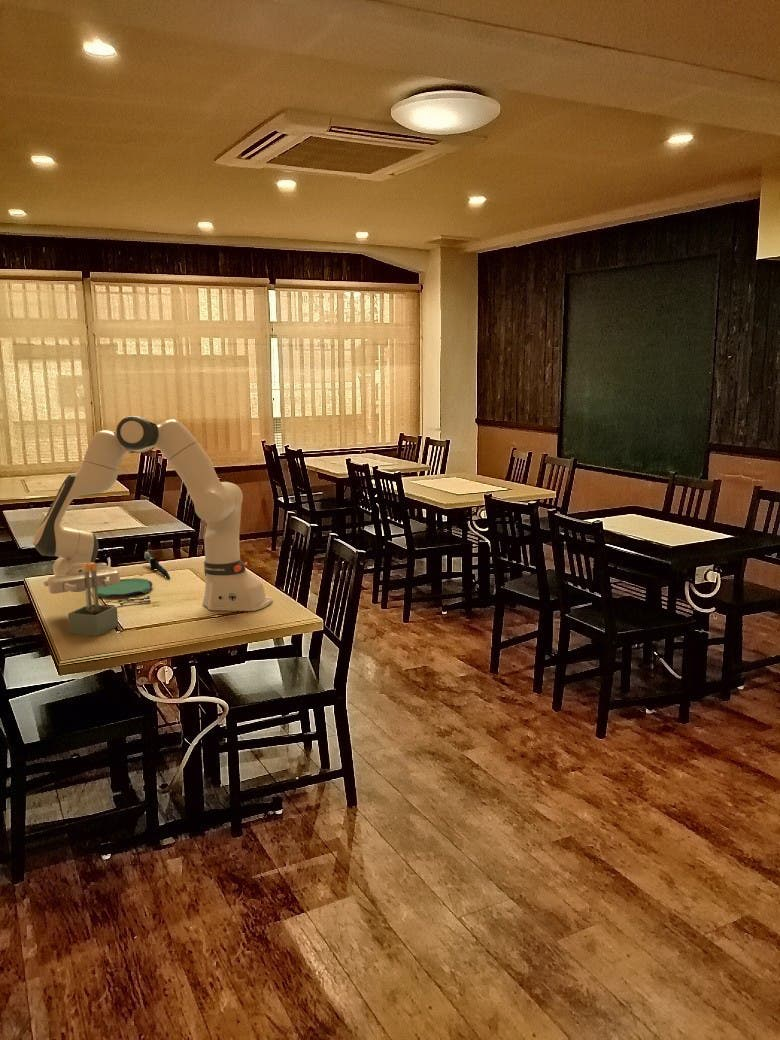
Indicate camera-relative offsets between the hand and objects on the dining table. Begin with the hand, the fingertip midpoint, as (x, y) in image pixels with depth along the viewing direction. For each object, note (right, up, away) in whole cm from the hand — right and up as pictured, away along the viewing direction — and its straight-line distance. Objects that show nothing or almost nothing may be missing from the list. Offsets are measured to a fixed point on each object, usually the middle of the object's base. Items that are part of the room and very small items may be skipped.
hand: (91, 586), depth 233 cm
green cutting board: (-4, -7, +40) cm, 41 cm away
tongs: (0, -12, +3) cm, 12 cm away
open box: (0, -13, +3) cm, 13 cm away
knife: (-1, -1, +70) cm, 70 cm away
